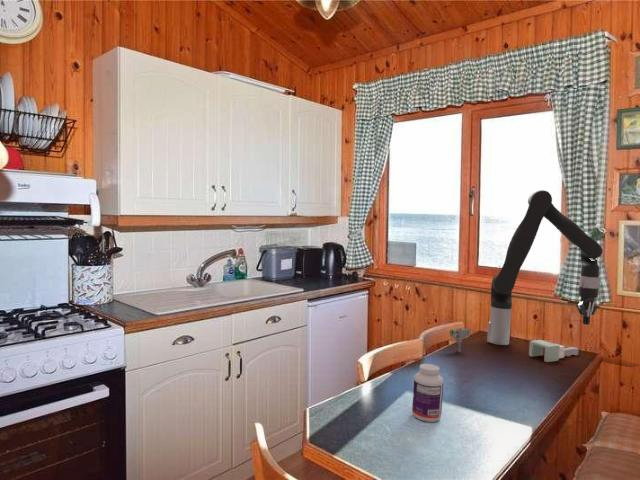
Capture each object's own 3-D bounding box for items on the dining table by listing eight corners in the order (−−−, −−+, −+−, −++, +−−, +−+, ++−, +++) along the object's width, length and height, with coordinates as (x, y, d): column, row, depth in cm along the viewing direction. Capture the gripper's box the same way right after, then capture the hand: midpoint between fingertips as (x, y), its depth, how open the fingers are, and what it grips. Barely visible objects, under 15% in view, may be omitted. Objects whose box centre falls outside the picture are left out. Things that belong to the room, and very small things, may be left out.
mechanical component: (447, 351, 191) (448, 328, 191) (465, 350, 195) (466, 327, 195) (451, 353, 188) (453, 330, 188) (470, 351, 193) (471, 329, 192)
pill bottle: (419, 408, 130) (422, 360, 129) (445, 417, 125) (449, 367, 124) (406, 416, 124) (409, 366, 123) (433, 426, 119) (436, 373, 118)
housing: (539, 354, 195) (540, 339, 195) (558, 360, 187) (559, 345, 186) (528, 355, 192) (529, 340, 191) (547, 362, 184) (548, 346, 183)
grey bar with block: (570, 352, 200) (571, 342, 200) (579, 355, 196) (580, 344, 196) (545, 356, 193) (545, 344, 193) (554, 359, 189) (555, 347, 189)
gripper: (589, 285, 206) (587, 321, 207) (571, 285, 200) (568, 323, 201) (606, 287, 199) (603, 325, 200) (587, 288, 193) (584, 327, 194)
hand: (586, 324), depth 200 cm, fingers closed
